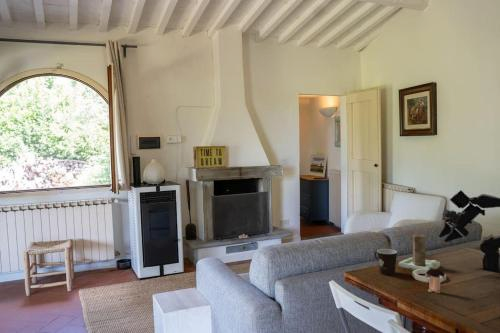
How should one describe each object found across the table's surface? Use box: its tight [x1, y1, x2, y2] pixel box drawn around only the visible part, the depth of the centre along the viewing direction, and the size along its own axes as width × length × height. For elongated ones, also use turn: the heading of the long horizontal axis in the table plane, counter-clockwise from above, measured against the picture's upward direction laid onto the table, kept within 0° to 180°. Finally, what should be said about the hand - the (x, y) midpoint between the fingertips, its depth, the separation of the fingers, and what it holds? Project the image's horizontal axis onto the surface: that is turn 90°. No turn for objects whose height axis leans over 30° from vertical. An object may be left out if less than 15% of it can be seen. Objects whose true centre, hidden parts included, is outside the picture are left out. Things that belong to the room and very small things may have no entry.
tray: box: [398, 256, 441, 271], centre depth 190 cm, size 13×13×2 cm
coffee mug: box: [374, 248, 398, 276], centre depth 184 cm, size 12×9×10 cm
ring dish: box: [411, 269, 447, 283], centre depth 174 cm, size 12×12×2 cm
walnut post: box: [412, 234, 426, 266], centre depth 190 cm, size 5×5×14 cm
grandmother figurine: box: [424, 259, 447, 294], centre depth 158 cm, size 8×4×13 cm, turn 68°
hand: (442, 239), depth 188 cm, fingers open, 9 cm apart
